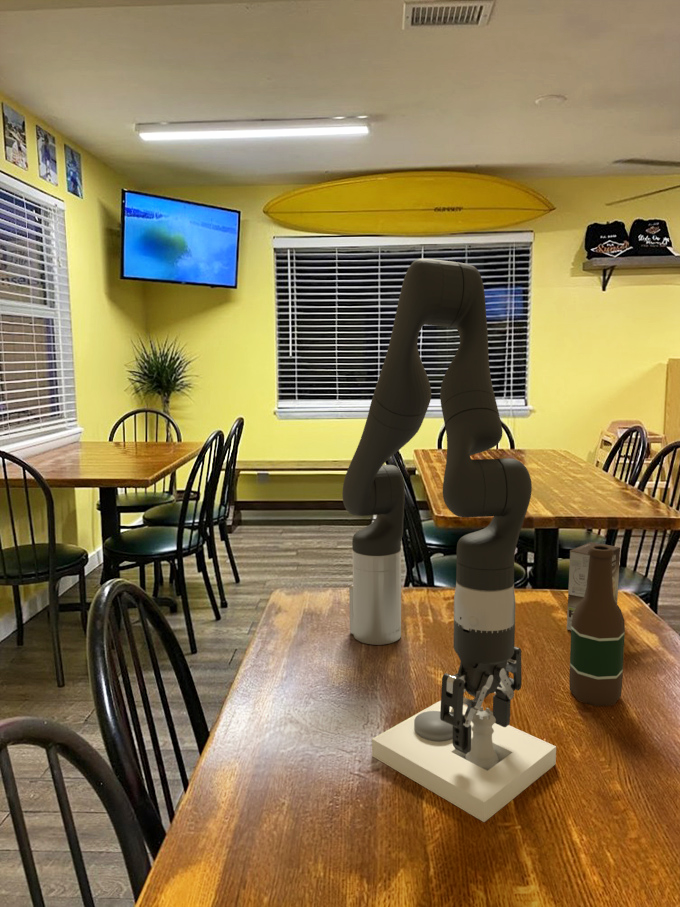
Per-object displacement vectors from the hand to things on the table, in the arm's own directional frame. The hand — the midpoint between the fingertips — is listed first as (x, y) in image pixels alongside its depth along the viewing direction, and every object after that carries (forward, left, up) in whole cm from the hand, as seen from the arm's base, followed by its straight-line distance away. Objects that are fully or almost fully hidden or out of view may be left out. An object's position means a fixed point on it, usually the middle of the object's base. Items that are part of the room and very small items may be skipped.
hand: (482, 736), depth 86 cm
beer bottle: (+1, +29, -5) cm, 29 cm away
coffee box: (-12, +54, -5) cm, 56 cm away
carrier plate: (-3, 0, -5) cm, 5 cm away
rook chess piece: (0, 0, -5) cm, 5 cm away
